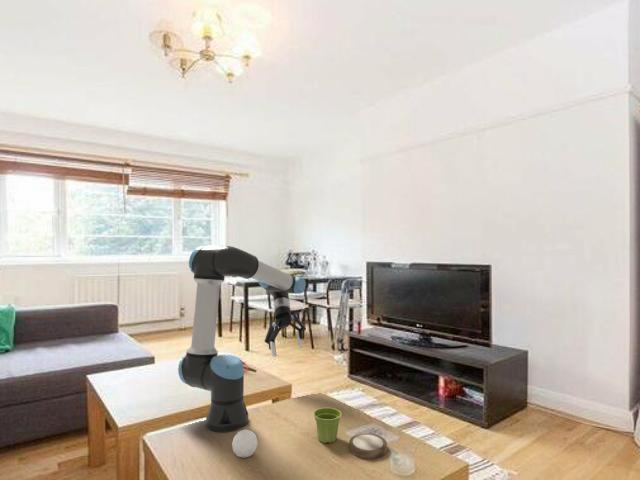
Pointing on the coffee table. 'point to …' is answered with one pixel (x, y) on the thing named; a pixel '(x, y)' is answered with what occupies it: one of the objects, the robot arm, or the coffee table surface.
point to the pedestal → (368, 446)
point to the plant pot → (327, 424)
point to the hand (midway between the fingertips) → (286, 351)
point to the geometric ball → (244, 443)
